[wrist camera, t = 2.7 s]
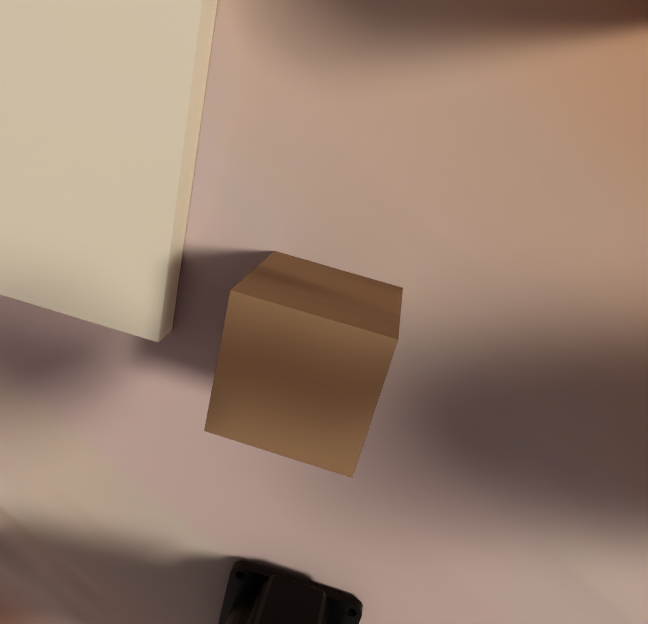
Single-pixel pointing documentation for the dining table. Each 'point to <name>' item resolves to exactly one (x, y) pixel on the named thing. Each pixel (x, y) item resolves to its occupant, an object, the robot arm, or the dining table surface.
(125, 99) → the plate
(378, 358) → the walnut block
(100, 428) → the dining table surface
